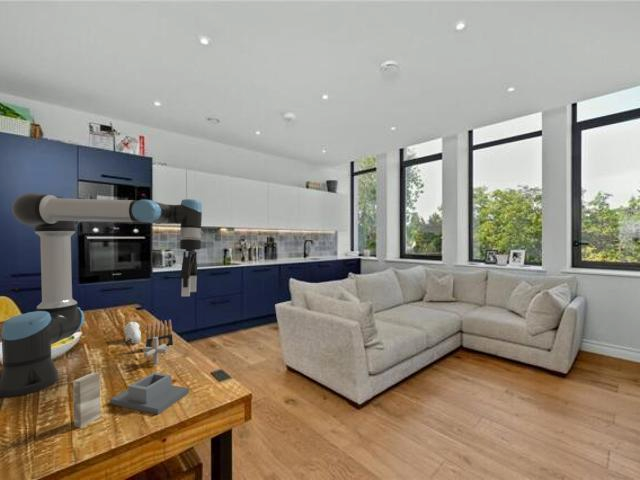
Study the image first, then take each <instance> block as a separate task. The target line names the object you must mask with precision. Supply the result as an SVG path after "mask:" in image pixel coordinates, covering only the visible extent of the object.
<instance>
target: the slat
mask: <svg viewBox="0 0 640 480" xmlns="http://www.w3.org/2000/svg"><path fill="white" fill-rule="evenodd" d="M72 384H73V390H72V391H73V426H74V427H75V428H78V427H79V428H80V429H82V428H85V426H88V425H89V424H91V423H92V422H94V421H96V420H98V419H99V418H101V395H100V393H101V390H100V384H101V383H100V373H97V372H91V373H89V374H86V375H84V376H81V377H79V378H77V379H75V380H73V381H72Z"/></svg>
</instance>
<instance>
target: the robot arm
mask: <svg viewBox="0 0 640 480" xmlns="http://www.w3.org/2000/svg"><path fill="white" fill-rule="evenodd" d="M202 206H203V205H202V202H201V200H197V199H193V198H192V199H191V198H186V199H182V200H181V201H180V204H165V203H162V202H157V201H154V200H152V199H139V200H134V199H130V200H129V199H103V198H102V199H100V198H99V199H98V198H96V199H95V198H67V197H63V196H56V195H52V194H44V193H38V192H29V193H25V194H21V195H20V196H18V197H17V198H16V199H15V200H14V201H13V203H12V207H11V208H12V209H11V210H12V211H11V212H12V214H13V216H14V217H15V219H16V220H17V221H18V222H20V223H22V224H23V225H26V226H29V227H34V233H35V234H36V235H38V236H39V237H40V270H41V272H40V273H41V276H40V277H41V302H40V303H39V304H38V305H37V306H36V310H35V311H29V312H26V313H21V314H18V315H14V316H12V317H10V318H8V319H6V320H5V321H4V322H3V324H2V328H1V332H0V333H1V334H0V337H1V351H2V353H1V355H2V356H1V357H2V369H1V372H0V396H2V397H1V398H12V397H19V396H25V395H27V394H32V393H35V392H37V391H40V390H41V391H42V390H43V389H45V388H48V387H51V386H52V385H53V384H55V383H57V382H58V380H59V370H58V369H57V366H56V364H55V362H54V360H53V358H52V345H54V344H56V343H58V342H60V341H63V340H64V339H68V338H70V337H71V336H73V335H74V334H77V332H78V331H79V330H81V328H82V327H83V325H84V322H85V313H84V312H83V310H81V307H80V306H79V307H78V301H77V300H75V299H74V298H73V284H72V283H73V282H72V279H73V277H72V274H73V273H72V241H71V239H72V238H71V237H72V236H73V235H74V234H75V233H76V231H77V230H76V227H77V226H78V225H79V223H81V222H102V223H103V222H104V223H105V222H106V223H107V222H109V223H110V222H111V223H113V222H114V223H118V222H119V223H148V224H149V223H150V224H155V225H161V224H162V225H165V224H166V225H175V224H176V225H180V228H179V229H180V234H179V238H180V241H179V249H180V250H184V251H183V252H182V254H183V255H182V263H181V264H182V265H181V272H180V275H179V279H181V292H180V293H181V295H180V296H181V297H190V296H191V293H197V276H199V272H198V262H197V253H198V252H197V251H196V250H201V248H202V241H201V238H202V234H203V233H204V231H202V219H203V218H202V217H203V215H202V214H203V210H202V209H203V207H202Z"/></svg>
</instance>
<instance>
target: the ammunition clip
mask: <svg viewBox="0 0 640 480" xmlns="http://www.w3.org/2000/svg"><path fill="white" fill-rule="evenodd" d="M172 327H173V326H172V320H171V319H169V320H168V323H167V320H166V319H165V320H164V324H163V321H162V320H160V322H159V323H158V321H156V322H155V324H154V321H152V322H151V324H149V322H147V324H146V332H145V347H153V337H158V346H160V345H162V344H166V346H168V347H170V346H169V345H172V346H174V341H173V340H174V339H173V328H172Z"/></svg>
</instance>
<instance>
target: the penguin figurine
mask: <svg viewBox="0 0 640 480" xmlns="http://www.w3.org/2000/svg"><path fill="white" fill-rule="evenodd" d="M123 330H124V334H125V341H124V342H128V341H129V340H131V341H129V342H131V344H135V345H137V344H139V343H140V342H141V340H142V332H141V329H140V324H139V323H138V322H136V321H129V322H128V323H127V324H125V327H124V328H123Z"/></svg>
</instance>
